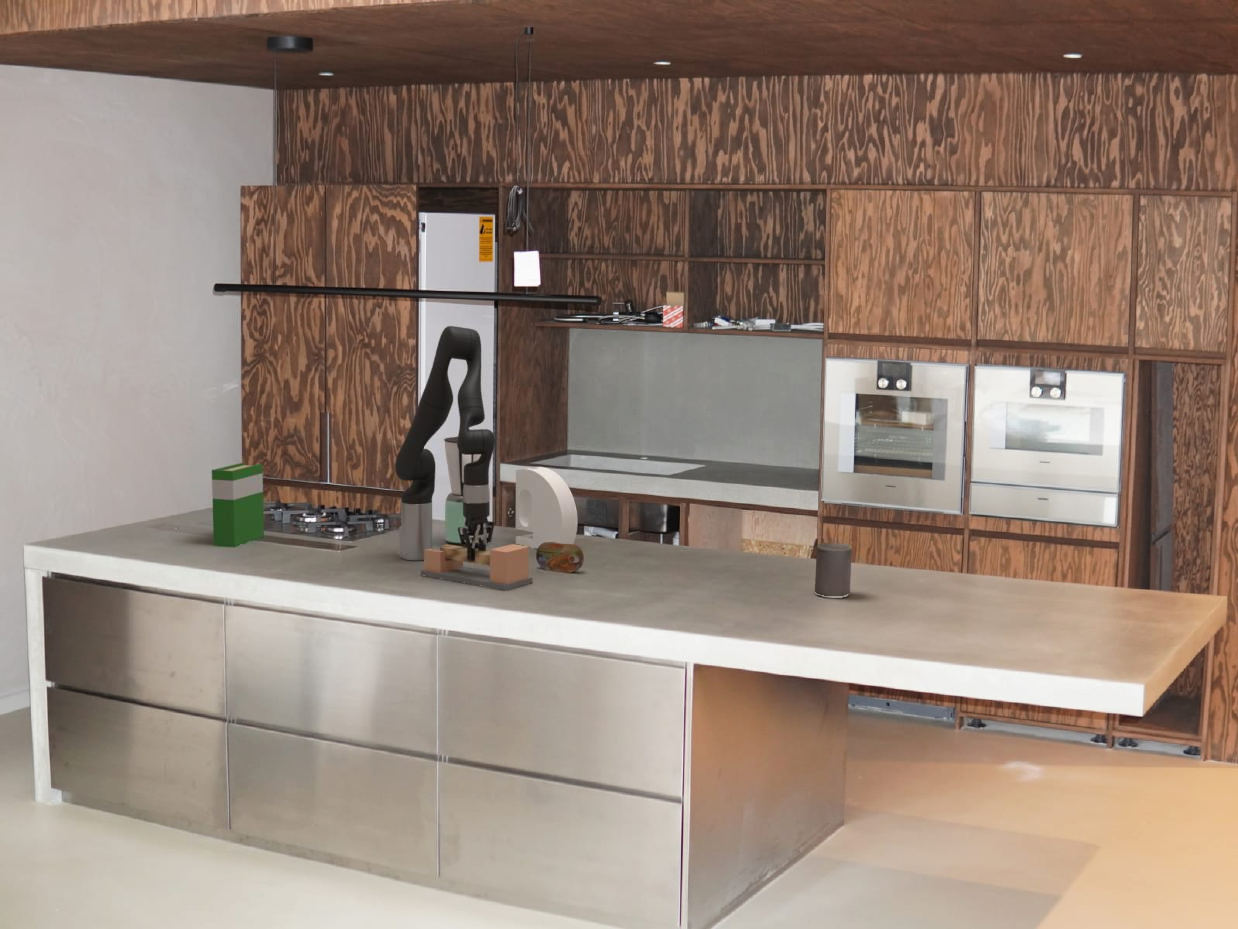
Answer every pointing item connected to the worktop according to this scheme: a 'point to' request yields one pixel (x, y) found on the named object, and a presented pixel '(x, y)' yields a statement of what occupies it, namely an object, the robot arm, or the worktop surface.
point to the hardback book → (237, 504)
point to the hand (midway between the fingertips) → (476, 559)
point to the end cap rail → (504, 569)
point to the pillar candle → (833, 569)
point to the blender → (456, 491)
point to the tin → (559, 557)
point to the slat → (461, 555)
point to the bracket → (544, 508)
